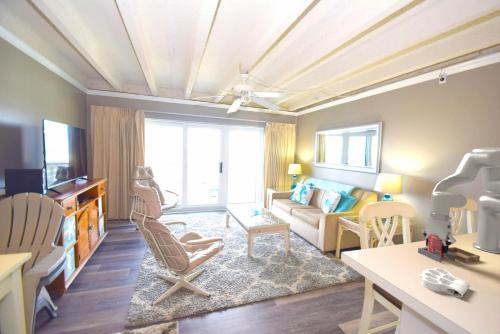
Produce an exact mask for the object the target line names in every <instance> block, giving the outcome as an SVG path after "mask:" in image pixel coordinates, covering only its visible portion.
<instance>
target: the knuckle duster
mask: <svg viewBox="0 0 500 334" xmlns="http://www.w3.org/2000/svg"><path fill="white" fill-rule="evenodd" d="M418 276H419V277H420V278H421V285H422V287H424V288H426V289H427V290H430V291H432V292H438V293H441V292H442V293H446V294H449V295H450V296H452V297H455V298H463V296H464V294H466V293H467V291H468V290H469V289H470V287H471V284H470V283H468V282H467V281H466V280H464V279H461V278H459V277H457V276H454V275H453V274H452V273H451V272H449V270H446V269H443V268H441V267H440V268H439V267H434V268H432V269H431V268H427V269H425V270H423V271H422V274H418ZM455 292H457V293H456V294H455Z"/></svg>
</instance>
